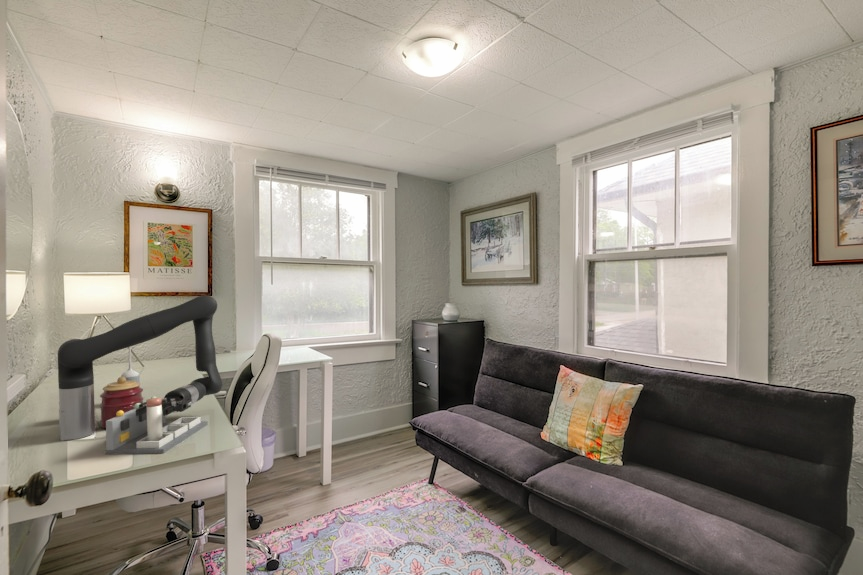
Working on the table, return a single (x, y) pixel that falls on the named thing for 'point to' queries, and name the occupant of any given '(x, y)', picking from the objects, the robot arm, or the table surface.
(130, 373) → the long-necked bottle
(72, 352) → the robot arm
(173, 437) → the breaker board
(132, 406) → the canister
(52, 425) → the table surface
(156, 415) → the plug
